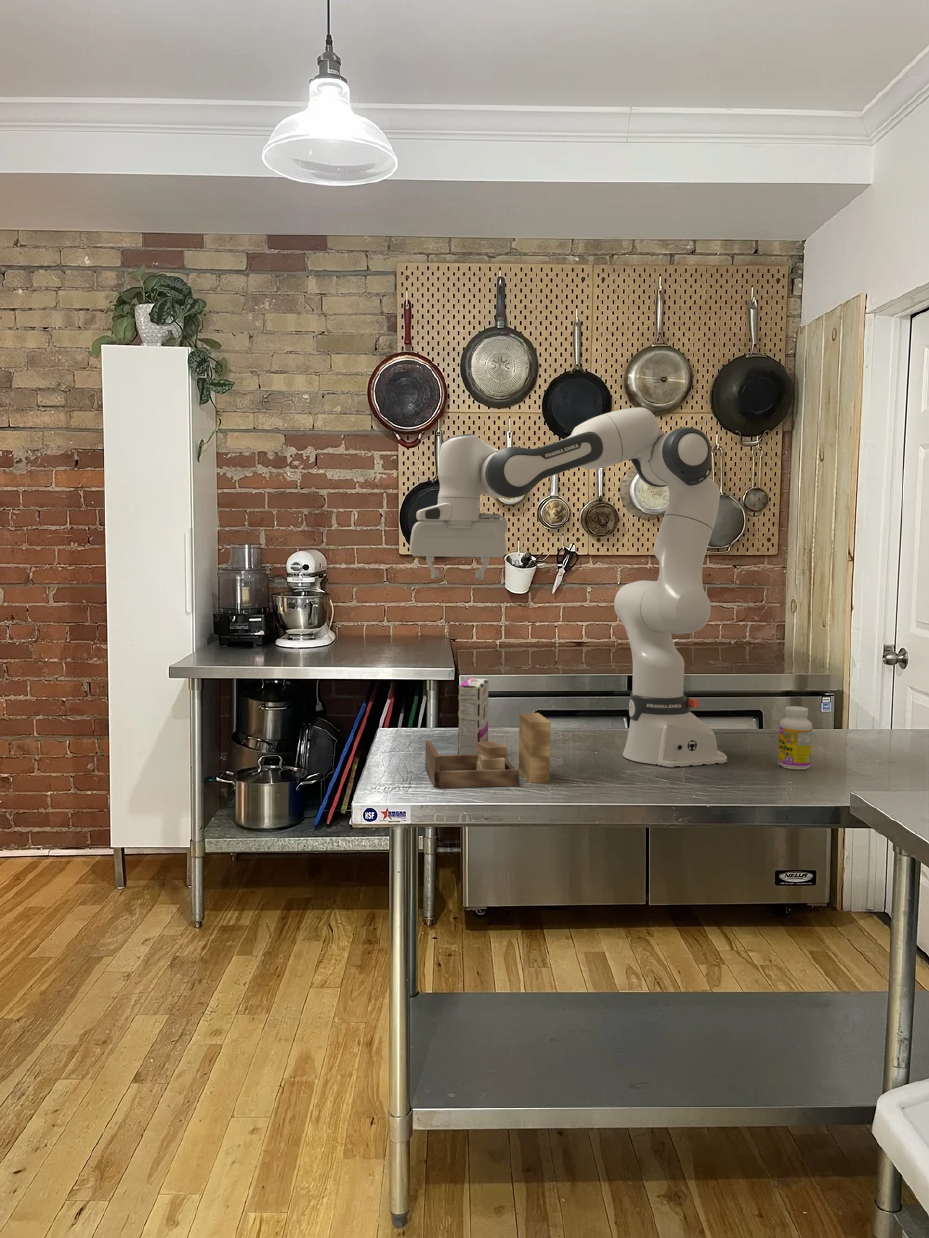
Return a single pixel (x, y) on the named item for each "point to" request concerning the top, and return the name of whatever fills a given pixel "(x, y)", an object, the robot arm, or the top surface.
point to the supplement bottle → (795, 738)
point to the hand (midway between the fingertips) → (457, 578)
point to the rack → (465, 771)
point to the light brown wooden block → (534, 747)
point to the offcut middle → (491, 763)
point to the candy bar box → (472, 715)
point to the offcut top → (491, 749)
